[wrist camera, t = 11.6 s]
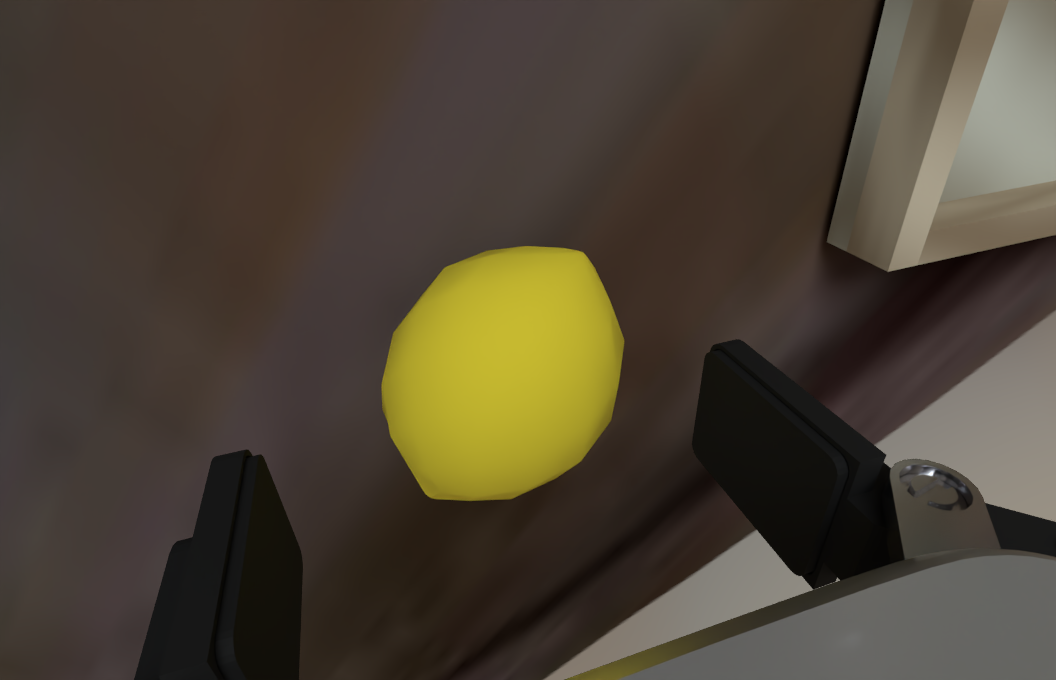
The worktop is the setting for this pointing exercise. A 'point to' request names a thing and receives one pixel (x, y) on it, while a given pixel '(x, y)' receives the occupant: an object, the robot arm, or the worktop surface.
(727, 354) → the robot arm
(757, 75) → the worktop surface
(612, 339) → the lemon
